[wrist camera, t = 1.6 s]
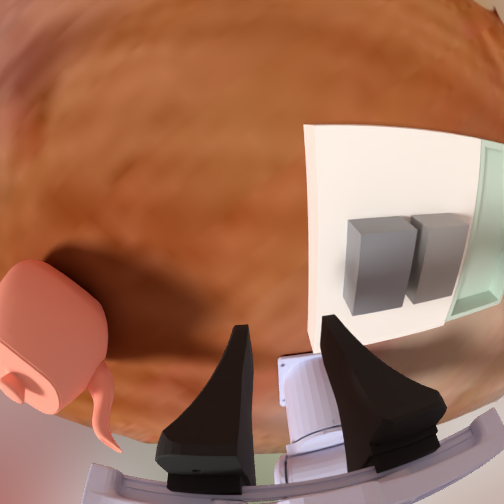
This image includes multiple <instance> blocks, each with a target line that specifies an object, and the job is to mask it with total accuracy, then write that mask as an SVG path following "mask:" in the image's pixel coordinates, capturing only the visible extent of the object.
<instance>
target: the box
mask: <svg viewBox="0 0 504 504" xmlns="http://www.w3.org/2000/svg"><path fill="white" fill-rule="evenodd" d="M465 136H467V135H465ZM469 137H472V136H469ZM474 138H477V137H474ZM478 139H481V153H480V169H479V181H478V190H477V198H476V205H475V211H474V217H473V223H472V228H471V233H470V238H469V243H468V247H467V251H466V256H465V260H464V263H463V267H462V271H461V274H460V278H459V281H458V285H457V288H456V291H455V294H454V297H453V300H452V303H451V306H450V309H449V312H448V314H447V317H446V320H445V322H446V321H449V320H453V319H456V318H459V317H462V316H465V315H468V314H471V313H474V312H477V311H480V310H483V309H485V308H488V307H491V306H494V305H496V304H499V303H500V301H501V299H502V296H503V294H504V143H500V142H495V141H491V140H486V139H482V138H478Z"/></svg>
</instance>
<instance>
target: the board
mask: <svg viewBox="0 0 504 504" xmlns="http://www.w3.org/2000/svg"><path fill="white" fill-rule="evenodd" d="M304 139H305V154H306V172H307V195H308V231H309V298H308V334H309V338H310V342H311V346H312V349H313V353H314V354H316V353H321V349H320V337H321V324H322V316H326V315H332V314H335V315H336V316H337V317H338V318H339V320H340V321H341V322H342V323H343V324H344V325H345V327H346V328H347V329H348V330H349V331H350V332H351V333H352V334H353V335H354V336H355V337H356V338H357V339H358V340H359V341H360V342H361V343H362V344H363V345H367V344H372V343H376V342H381V341H385V340H390V339H394V338H398V337H402V336H406V335H410V334H414V333H418V332H422V331H425V330H429V329H432V328H436V327H439V326H443V325H444V322H445V320H446V317H447V314H448V312H449V309H450V306H451V303H452V300H453V297H454V294H455V291H456V288H457V285H458V281H459V278H460V274H461V271H462V267H463V263H464V260H465V256H466V251H467V247H468V243H469V238H470V233H471V228H472V223H473V217H474V211H475V205H476V198H477V190H478V181H479V169H480V153H481V139H478V138H474V137H469V136H465V135H460V134H455V133H449V132H442V131H435V130H427V129H418V128H409V127H397V126H383V125H363V124H304ZM438 213H452V214H453V215H455V216H457V217H458V218H460V219H461V220H463V221H464V222H466V223H468V224H469V230H468V235H467V240H466V245H465V249H464V253H463V257H462V261H461V265H460V269H459V273H458V276H457V280H456V283H455V286H454V290H453V293H452V296H448V297H444V298H440V299H436V300H431V301H427V302H423V303H418V304H414V305H413V304H412V302H411V301H410V300H409V298H408V297H407V296H406V294H405V298H404V302H403V306H402V307H400V308H395V309H390V310H384V311H379V312H374V313H368V314H363V315H357V316H352V314H351V312H350V310H349V308H348V306H347V304H346V302H345V300H344V298H343V286H344V274H345V261H346V245H347V222H348V220H350V219H363V218H376V217H390V216H401V217H402V218H403V219H405V220H406V221H407V222H409V223H410V222H411V215H421V214H438Z"/></svg>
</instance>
